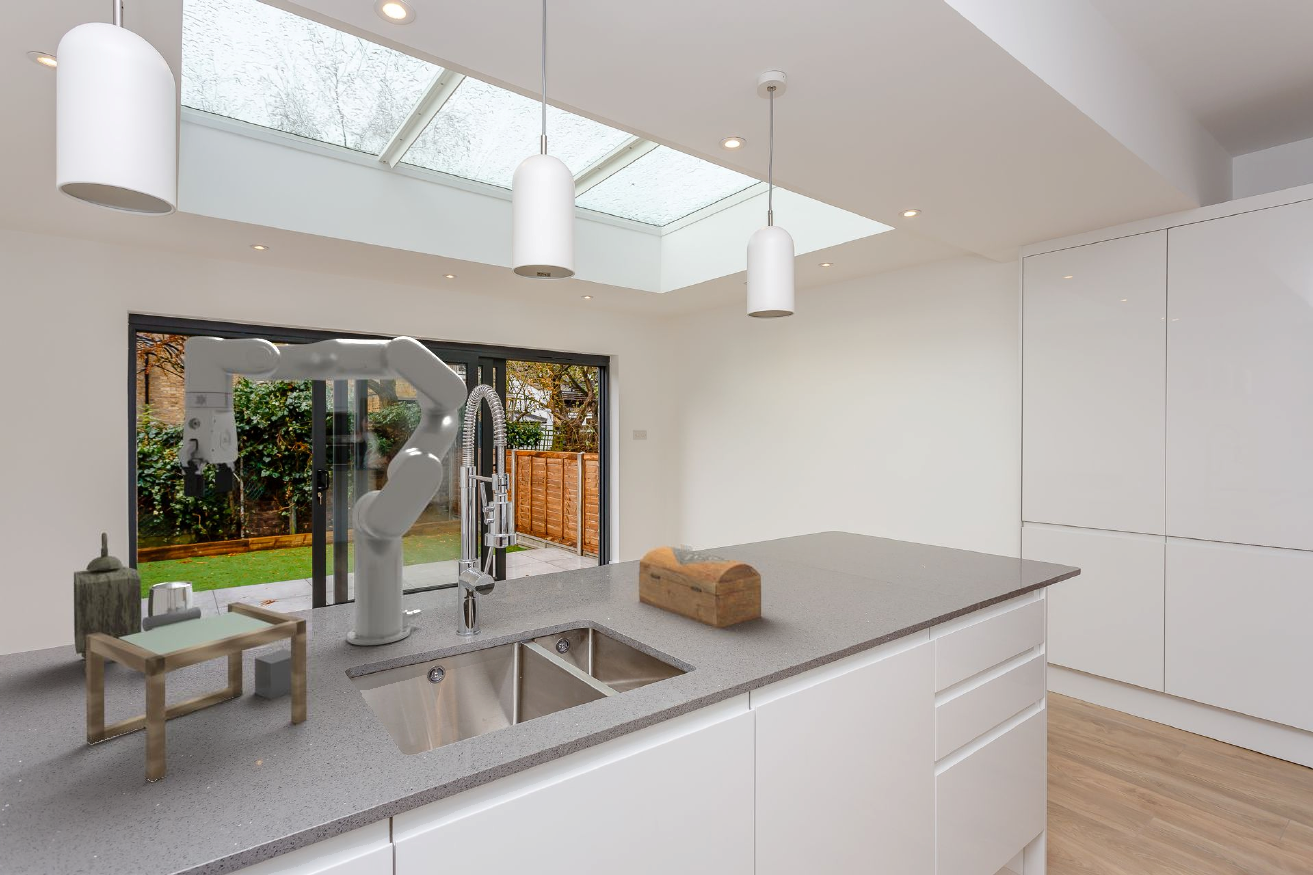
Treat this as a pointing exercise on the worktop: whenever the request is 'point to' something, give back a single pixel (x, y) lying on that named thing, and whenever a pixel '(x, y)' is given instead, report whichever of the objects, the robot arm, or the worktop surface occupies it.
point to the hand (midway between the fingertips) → (209, 493)
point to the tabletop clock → (106, 599)
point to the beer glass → (170, 597)
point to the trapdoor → (189, 630)
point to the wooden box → (700, 586)
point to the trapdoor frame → (159, 664)
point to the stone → (273, 674)
